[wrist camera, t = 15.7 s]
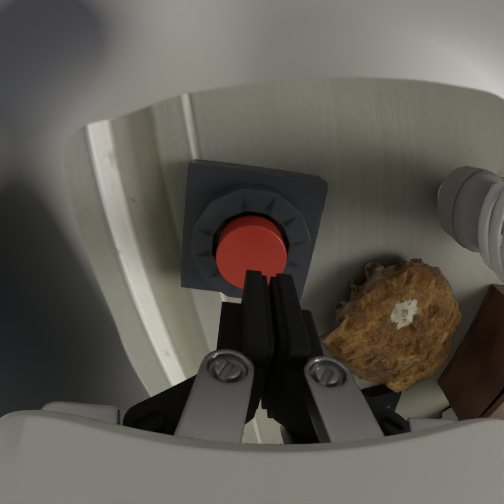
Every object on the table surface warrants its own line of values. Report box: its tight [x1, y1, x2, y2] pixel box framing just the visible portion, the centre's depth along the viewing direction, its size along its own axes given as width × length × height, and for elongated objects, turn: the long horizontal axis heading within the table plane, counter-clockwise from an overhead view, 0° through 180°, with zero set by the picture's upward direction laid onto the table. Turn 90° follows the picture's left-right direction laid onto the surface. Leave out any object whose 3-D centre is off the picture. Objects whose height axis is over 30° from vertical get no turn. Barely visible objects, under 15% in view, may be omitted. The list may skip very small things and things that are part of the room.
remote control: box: [362, 384, 402, 411], centre depth 31 cm, size 5×24×1 cm, turn 7°
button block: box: [181, 159, 328, 300], centre depth 18 cm, size 8×8×4 cm
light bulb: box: [437, 166, 504, 281], centre depth 13 cm, size 6×6×12 cm
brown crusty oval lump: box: [319, 259, 461, 393], centre depth 22 cm, size 11×4×15 cm
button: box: [216, 215, 287, 289], centre depth 16 cm, size 4×4×2 cm
